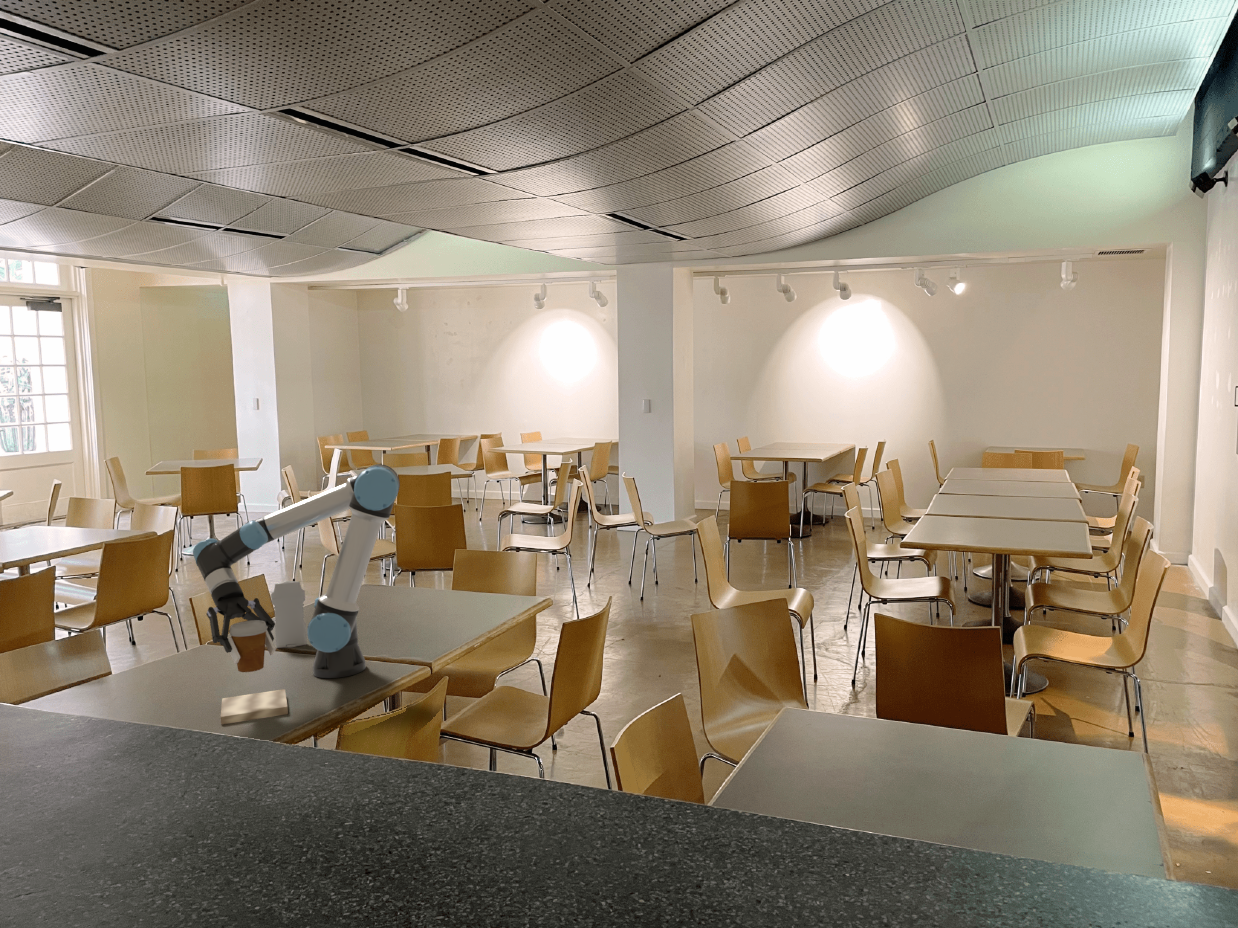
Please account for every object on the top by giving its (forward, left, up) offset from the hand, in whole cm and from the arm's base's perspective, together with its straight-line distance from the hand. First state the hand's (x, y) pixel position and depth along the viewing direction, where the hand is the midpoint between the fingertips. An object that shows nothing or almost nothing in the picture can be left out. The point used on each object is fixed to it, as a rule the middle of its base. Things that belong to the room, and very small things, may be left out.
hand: (255, 656), depth 240 cm
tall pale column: (-11, -66, -15) cm, 68 cm away
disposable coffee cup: (+1, -3, -4) cm, 5 cm away
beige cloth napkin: (+1, -3, -15) cm, 15 cm away
